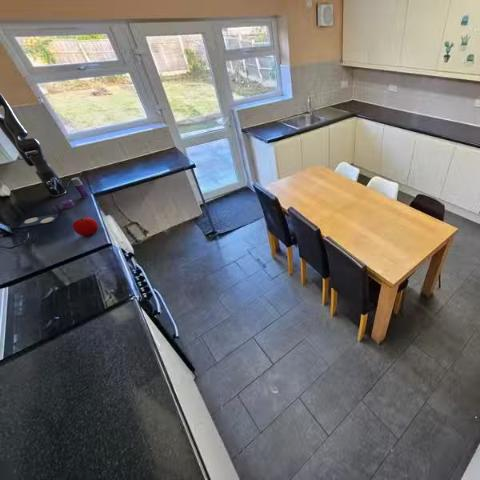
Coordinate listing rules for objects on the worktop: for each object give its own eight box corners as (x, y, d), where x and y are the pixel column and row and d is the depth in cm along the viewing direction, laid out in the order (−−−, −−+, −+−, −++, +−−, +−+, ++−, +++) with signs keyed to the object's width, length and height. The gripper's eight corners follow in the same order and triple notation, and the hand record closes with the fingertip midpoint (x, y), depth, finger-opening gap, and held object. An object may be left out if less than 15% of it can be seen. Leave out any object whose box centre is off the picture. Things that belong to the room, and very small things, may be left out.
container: (85, 198, 205) (74, 180, 196) (80, 197, 206) (69, 179, 197) (91, 195, 209) (80, 177, 200) (86, 195, 210) (75, 177, 201)
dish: (66, 205, 197) (62, 200, 195) (76, 203, 199) (72, 198, 197) (63, 209, 193) (59, 204, 190) (73, 207, 195) (70, 202, 192)
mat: (25, 219, 182) (25, 219, 182) (59, 213, 188) (59, 213, 188) (18, 228, 174) (17, 227, 174) (53, 221, 180) (53, 221, 179)
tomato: (76, 240, 162) (65, 225, 155) (81, 230, 171) (71, 216, 164) (99, 236, 166) (90, 220, 159) (103, 226, 174) (94, 211, 167)
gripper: (42, 167, 183) (57, 189, 193) (33, 175, 173) (49, 197, 182) (56, 165, 186) (69, 187, 195) (48, 173, 175) (63, 195, 185)
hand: (60, 192), depth 189 cm, fingers open, 8 cm apart
